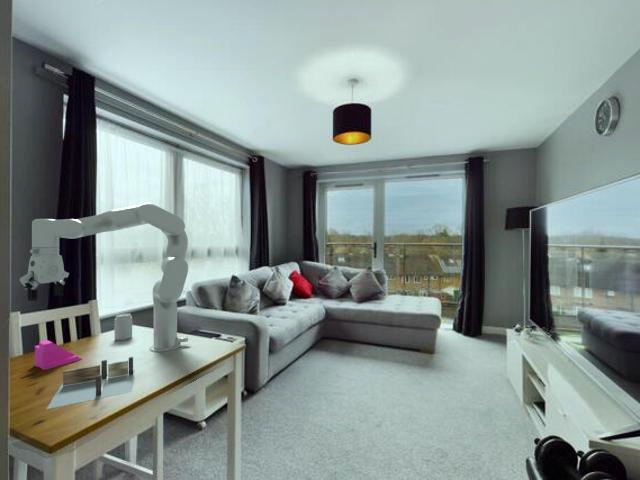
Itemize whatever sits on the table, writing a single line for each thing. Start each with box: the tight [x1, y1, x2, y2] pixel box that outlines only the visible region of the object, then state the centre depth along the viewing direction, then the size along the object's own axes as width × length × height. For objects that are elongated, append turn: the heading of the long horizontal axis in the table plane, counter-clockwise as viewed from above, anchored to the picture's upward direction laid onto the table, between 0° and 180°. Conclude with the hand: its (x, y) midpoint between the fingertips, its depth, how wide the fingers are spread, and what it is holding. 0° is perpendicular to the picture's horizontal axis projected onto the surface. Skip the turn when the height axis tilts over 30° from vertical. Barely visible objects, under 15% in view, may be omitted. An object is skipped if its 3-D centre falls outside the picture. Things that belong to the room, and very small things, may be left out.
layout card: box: [46, 369, 135, 410], centre depth 100 cm, size 21×18×1 cm
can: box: [113, 313, 133, 341], centre depth 151 cm, size 8×8×12 cm
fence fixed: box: [96, 356, 134, 396], centre depth 102 cm, size 10×14×6 cm
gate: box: [62, 364, 101, 386], centre depth 103 cm, size 10×1×5 cm, turn 119°
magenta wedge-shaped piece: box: [34, 339, 83, 371], centre depth 121 cm, size 12×10×10 cm
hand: (46, 297), depth 112 cm, fingers open, 9 cm apart
